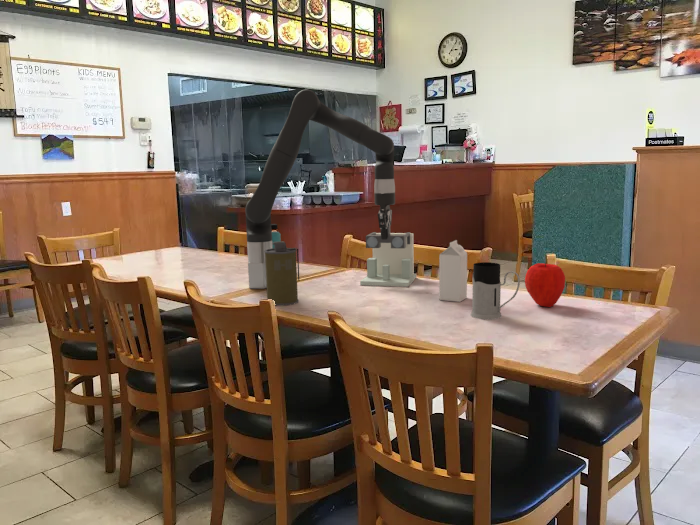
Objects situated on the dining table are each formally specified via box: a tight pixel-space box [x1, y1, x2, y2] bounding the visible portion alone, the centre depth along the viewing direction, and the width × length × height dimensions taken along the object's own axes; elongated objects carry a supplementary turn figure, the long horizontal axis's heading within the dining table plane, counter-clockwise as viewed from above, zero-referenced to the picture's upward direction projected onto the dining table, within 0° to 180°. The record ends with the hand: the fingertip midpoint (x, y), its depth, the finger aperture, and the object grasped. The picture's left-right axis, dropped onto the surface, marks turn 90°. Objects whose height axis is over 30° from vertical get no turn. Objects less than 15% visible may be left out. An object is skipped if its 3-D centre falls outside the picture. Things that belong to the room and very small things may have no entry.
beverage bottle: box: [271, 223, 282, 248], centre depth 248 cm, size 6×7×20 cm
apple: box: [524, 262, 566, 308], centre depth 174 cm, size 12×12×13 cm
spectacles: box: [365, 226, 411, 249], centre depth 215 cm, size 12×14×8 cm
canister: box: [264, 240, 300, 307], centre depth 187 cm, size 11×10×20 cm
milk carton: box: [438, 239, 468, 303], centre depth 185 cm, size 7×7×19 cm
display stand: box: [359, 232, 417, 288], centre depth 216 cm, size 18×18×18 cm
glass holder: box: [470, 261, 521, 320], centre depth 162 cm, size 9×14×15 cm, turn 51°
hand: (385, 238), depth 211 cm, fingers closed on spectacles, 3 cm apart
